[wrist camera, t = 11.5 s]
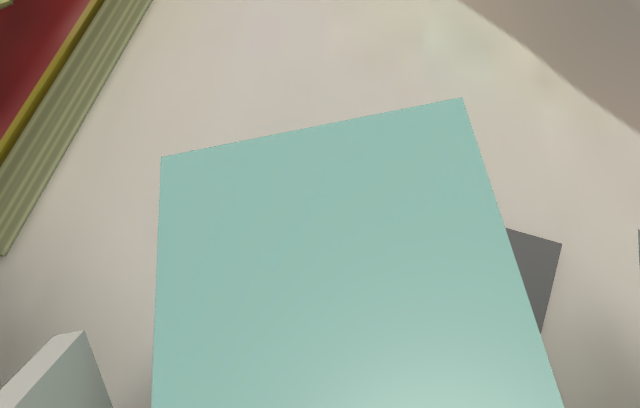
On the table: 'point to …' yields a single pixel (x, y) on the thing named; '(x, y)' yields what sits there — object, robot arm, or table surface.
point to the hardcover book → (50, 88)
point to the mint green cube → (343, 273)
